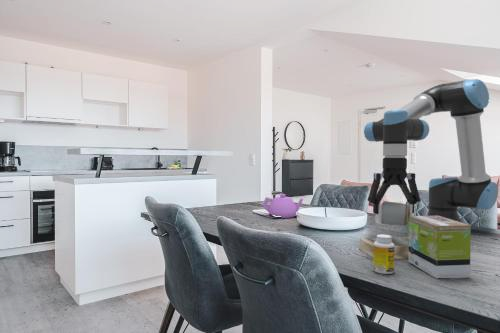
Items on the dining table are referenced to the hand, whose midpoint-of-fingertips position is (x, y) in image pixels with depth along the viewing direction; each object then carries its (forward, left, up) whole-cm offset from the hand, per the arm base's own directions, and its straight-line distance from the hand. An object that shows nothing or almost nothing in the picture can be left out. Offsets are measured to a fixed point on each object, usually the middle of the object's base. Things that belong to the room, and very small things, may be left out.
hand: (393, 223), depth 121 cm
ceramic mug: (-1, -1, -1) cm, 1 cm away
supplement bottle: (+13, +17, -11) cm, 24 cm away
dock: (0, 0, -10) cm, 10 cm away
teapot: (+18, -80, -11) cm, 83 cm away
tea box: (-3, +18, -11) cm, 21 cm away
